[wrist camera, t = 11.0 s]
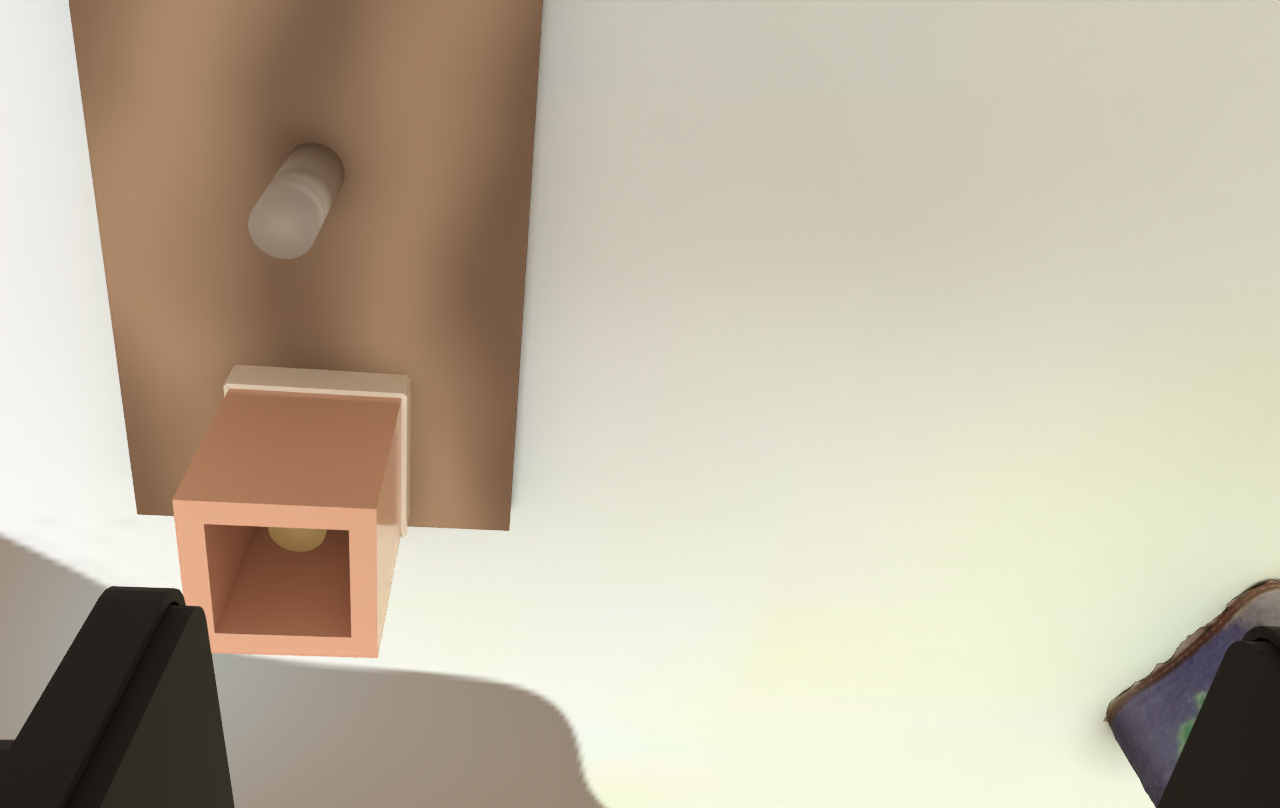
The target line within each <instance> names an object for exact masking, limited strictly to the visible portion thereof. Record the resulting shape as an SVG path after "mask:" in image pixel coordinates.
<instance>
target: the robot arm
mask: <svg viewBox="0 0 1280 808" xmlns="http://www.w3.org/2000/svg"><path fill="white" fill-rule="evenodd" d="M0 808H234V801H233V795H232V788H231V781H230V774H229V767H228V761H227V754H226V747H225V741H224V734H223V727H222V721H221V714H220V707H219V701H218V694H217V687H216V681H215V674H214V667H213V660H212V654H211V647H210V640H209V634H208V627H207V620H206V616H205V612H204V610H203V608H202V607H200V606H186V604H185V600H184V596H183V594H182V593H181V591H180V590H178V589H175V588H147V587H118V586H111V587H109V588H108V589H106V590H105V591H104V592H103V593H102V595H101V596H100V597H99V599H98V601H97V602H96V604H95V606H94V607H93V609H92V611H91V613H90V614H89V616H88V618H87V619H86V621H85V623H84V624H83V626H82V628H81V629H80V631H79V633H78V634H77V636H76V638H75V640H74V641H73V643H72V645H71V646H70V648H69V650H68V651H67V653H66V655H65V656H64V658H63V660H62V662H61V663H60V665H59V667H58V668H57V670H56V672H55V673H54V675H53V677H52V678H51V680H50V682H49V683H48V685H47V687H46V689H45V690H44V692H43V694H42V695H41V697H40V699H39V700H38V702H37V704H36V705H35V707H34V709H33V711H32V712H31V714H30V716H29V717H28V719H27V721H26V723H25V724H24V726H23V727H22V729H21V731H20V732H19V734H18V736H17V738H16V739H15V740H0ZM1157 808H1280V626H1258V627H1253V628H1252V629H1251V630H1249V631H1248V632H1246V634H1245V636H1244V637H1243V639H1242V640H1241V641H1236V642H1234V643H1233V644H1231V645H1230V646H1229V648H1228V649H1227V651H1226V652H1225V655H1224V657H1223V659H1222V661H1221V664H1220V666H1219V668H1218V670H1217V673H1216V675H1215V677H1214V679H1213V682H1212V684H1211V686H1210V688H1209V691H1208V693H1207V695H1206V698H1205V700H1204V702H1203V704H1202V707H1201V709H1200V711H1199V713H1198V716H1197V718H1196V720H1195V722H1194V725H1193V727H1192V729H1191V732H1190V734H1189V736H1188V738H1187V741H1186V743H1185V745H1184V747H1183V750H1182V752H1181V754H1180V756H1179V759H1178V761H1177V763H1176V765H1175V768H1174V770H1173V772H1172V775H1171V777H1170V779H1169V781H1168V784H1167V786H1166V788H1165V790H1164V793H1163V795H1162V797H1161V799H1160V802H1159V804H1158V806H1157Z"/></svg>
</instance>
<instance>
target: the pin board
mask: <svg viewBox="0 0 1280 808" xmlns="http://www.w3.org/2000/svg"><path fill="white" fill-rule="evenodd" d="M542 4H543V0H69V7H70V14H71V22H72V29H73V37H74V44H75V52H76V59H77V66H78V74H79V81H80V89H81V96H82V104H83V111H84V119H85V126H86V134H87V141H88V149H89V156H90V164H91V171H92V179H93V186H94V193H95V201H96V208H97V216H98V223H99V231H100V238H101V246H102V253H103V261H104V268H105V276H106V283H107V291H108V298H109V305H110V313H111V320H112V328H113V335H114V343H115V350H116V358H117V365H118V373H119V380H120V388H121V395H122V403H123V410H124V418H125V425H126V432H127V440H128V447H129V455H130V462H131V470H132V477H133V485H134V492H135V500H136V507H137V514H141V515H163V516H174V510H173V502H172V500H173V498H174V496H175V494H176V492H177V490H178V488H179V486H180V484H181V482H182V480H183V478H184V476H185V474H186V472H187V470H188V468H189V466H190V464H191V462H192V460H193V458H194V456H195V454H196V452H197V450H198V449H199V447H200V445H201V443H202V441H203V439H204V437H205V435H206V433H207V431H208V429H209V427H210V425H211V423H212V421H213V419H214V417H215V415H216V413H217V411H218V409H219V407H220V405H221V403H222V401H223V399H224V387H223V385H224V383H225V382H226V380H227V378H228V376H229V374H230V372H231V370H232V368H233V367H235V365H251V366H268V367H285V368H302V369H319V370H335V371H352V372H369V373H386V374H403V375H409V377H411V449H410V516H409V522H408V526H413V527H436V528H459V529H482V530H504V531H509V525H510V510H511V494H512V478H513V462H514V446H515V431H516V415H517V399H518V383H519V367H520V352H521V336H522V320H523V304H524V288H525V273H526V257H527V241H528V225H529V209H530V194H531V178H532V162H533V146H534V130H535V115H536V99H537V83H538V67H539V51H540V35H541V20H542ZM268 531H269V534H270V536H271V538H272V539H273V540H274V542H275V543H277V544H278V545H279V546H281V547H282V548H284V549H287V550H290V551H295V552H304V551H309V550H312V549H314V548H316V547H318V546H319V545H320V544H321V543H322V542H323V540H324V538H325V536H326V532H327V529H307V528H284V527H268Z"/></svg>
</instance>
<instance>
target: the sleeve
mask: <svg viewBox="0 0 1280 808" xmlns="http://www.w3.org/2000/svg"><path fill="white" fill-rule="evenodd" d="M223 387H224V399H223V401H222V403H221V405H220V407H219V409H218V411H217V413H216V415H215V417H214V419H213V421H212V423H211V425H210V427H209V429H208V431H207V433H206V435H205V437H204V439H203V441H202V443H201V445H200V447H199V449H198V450H197V452H196V454H195V456H194V458H193V460H192V462H191V464H190V466H189V468H188V470H187V472H186V474H185V476H184V478H183V480H182V482H181V484H180V486H179V488H178V490H177V492H176V494H175V496H174V498H173V500H172V502H173V510H174V519H175V528H176V536H177V545H178V554H179V562H180V571H181V580H182V588H183V596H184V600H185V604H186V606H200V607H202V608H203V610H204V612H205V616H206V620H207V627H208V634H209V640H210V647H211V653H230V654H264V655H298V656H331V657H365V658H378V653H379V648H380V643H381V637H382V632H383V627H384V621H385V616H386V611H387V605H388V600H389V595H390V589H391V584H392V579H393V573H394V568H395V563H396V557H397V552H398V547H399V541H400V538H403V537H404V536H406V533H407V527H408V522H409V516H410V449H411V377H409V375H403V374H386V373H369V372H352V371H335V370H319V369H302V368H285V367H268V366H251V365H235V367H233V368H232V370H231V372H230V374H229V376H228V378H227V380H226V382H225V383H224V385H223ZM268 527H284V528H307V529H327V532H326V536H325V538H324V540H323V542H322V543H321V544H320V545H319V546H318V547H316V548H314V549H312V550H309V551H304V552H295V551H290V550H287V549H284V548H282V547H281V546H279V545H278V544H277V543H275V542H274V540H273V539H272V538H271V536H270V534H269V531H268Z"/></svg>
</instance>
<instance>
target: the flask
mask: <svg viewBox="0 0 1280 808" xmlns="http://www.w3.org/2000/svg"><path fill="white" fill-rule="evenodd" d="M1227 607H1229V609H1228V611H1225V612H1224V613H1223V614H1221V615H1219V616H1218V617H1217V618H1216V619H1214V620H1213V621H1212V622H1211V623H1208V624H1207V626H1205V627H1204V628H1200V629H1199V630H1197V631H1196V632H1195V633H1194V634H1192V635H1190V636H1188V637H1187V639H1186V640H1185V641H1184V642H1182V643H1181V644H1180V645H1179V648H1176V649H1178V651H1176V652H1175V654H1174V656H1173V659H1171V660H1170V661H1169V662H1167V663H1165V664H1157V665H1156V667H1155V668H1154V670H1153V672H1152V674H1151V675H1150V676H1148V677H1147V678H1146V679H1144V680H1141V681H1139V682H1134V685H1133V686H1132V688H1130V689H1129V691H1127V692H1124V693H1123V694H1122V695H1120V696H1119V697H1117V698H1115V699H1113V700H1112V701H1111V702H1110V706H1109V707H1108V710H1107V711H1108V713H1107V717H1106V718H1105V719H1104V721H1108V723H1109V725H1110V727H1111V729H1112V731H1113V734H1114V736H1115V739H1116V741H1117V742H1118V744H1119V746H1120V747H1121V749H1122V750H1123V752H1124V754H1125V756H1126V757H1127V759H1128V761H1129V762H1130V764H1131V766H1132V768H1133V769H1134V771H1135V772H1136V774H1137V776H1138V777H1139V779H1140V781H1141V783H1142V785H1143V787H1144V790H1145V792H1146V793H1147V794H1148V795H1149V797H1150V799H1151V800H1152V802H1153V803H1154V805H1155V807H1156V808H1157V806H1158V804H1159V802H1160V799H1161V797H1162V795H1163V793H1164V790H1165V788H1166V786H1167V784H1168V781H1169V779H1170V777H1171V775H1172V772H1173V770H1174V768H1175V765H1176V763H1177V761H1178V759H1179V756H1180V754H1181V752H1182V750H1183V747H1184V745H1185V743H1186V741H1187V738H1188V736H1189V734H1190V732H1191V729H1192V727H1193V725H1194V722H1195V720H1196V718H1197V716H1198V713H1199V711H1200V709H1201V707H1202V704H1203V702H1204V700H1205V698H1206V695H1207V693H1208V691H1209V688H1210V686H1211V684H1212V682H1213V679H1214V677H1215V675H1216V673H1217V670H1218V668H1219V666H1220V664H1221V661H1222V659H1223V657H1224V655H1225V652H1226V651H1227V649H1228V648H1229V646H1230V645H1231V644H1233V643H1234V642H1236V641H1241V640H1242V639H1243V637H1244V636H1245V634H1246V632H1248V631H1249V630H1251V629H1252V628H1253V627H1258V626H1280V582H1277V581H1274V580H1273V579H1271V580H1269V581H1267V582H1265V584H1264V585H1261V586H1258V587H1257V588H1253V589H1250V590H1248V591H1246V592H1244V593H1243V594H1242V595H1240V596H1237V598H1235V599H1233V600H1232V601H1231V602H1229V603H1228V604H1227Z"/></svg>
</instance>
